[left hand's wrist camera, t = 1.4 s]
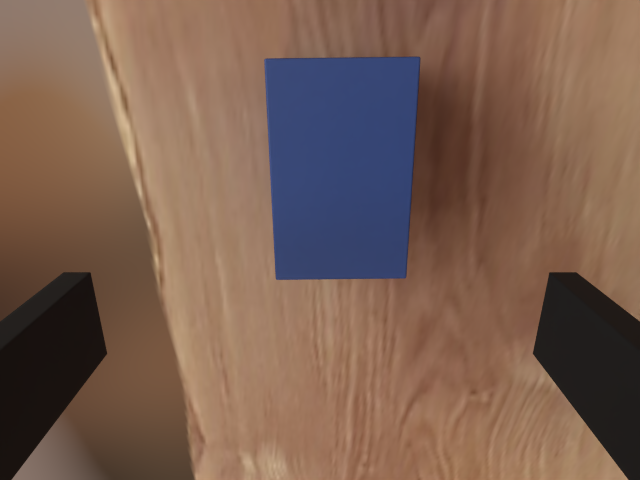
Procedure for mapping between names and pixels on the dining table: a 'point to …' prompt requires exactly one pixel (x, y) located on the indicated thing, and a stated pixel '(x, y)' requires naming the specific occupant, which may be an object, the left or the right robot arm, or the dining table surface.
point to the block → (341, 164)
